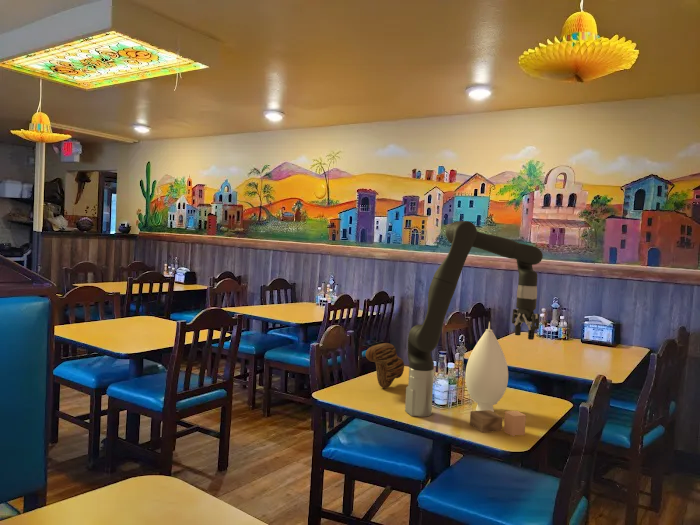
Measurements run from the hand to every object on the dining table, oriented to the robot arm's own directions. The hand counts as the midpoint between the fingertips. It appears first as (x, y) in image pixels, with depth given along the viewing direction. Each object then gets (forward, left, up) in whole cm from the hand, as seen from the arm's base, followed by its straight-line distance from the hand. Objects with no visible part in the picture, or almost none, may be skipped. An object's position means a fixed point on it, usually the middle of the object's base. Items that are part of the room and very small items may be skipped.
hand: (524, 337), depth 218 cm
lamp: (-17, -1, -29) cm, 33 cm away
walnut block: (-27, -18, -29) cm, 43 cm away
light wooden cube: (-20, -25, -28) cm, 43 cm away
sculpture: (-45, +34, -29) cm, 64 cm away
